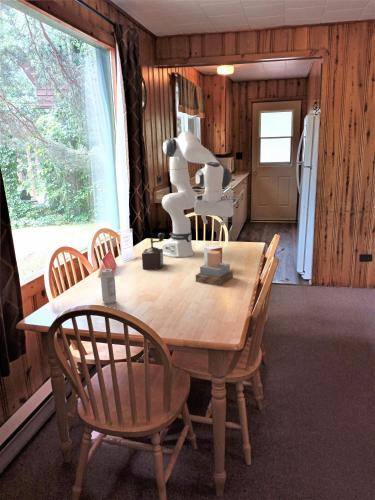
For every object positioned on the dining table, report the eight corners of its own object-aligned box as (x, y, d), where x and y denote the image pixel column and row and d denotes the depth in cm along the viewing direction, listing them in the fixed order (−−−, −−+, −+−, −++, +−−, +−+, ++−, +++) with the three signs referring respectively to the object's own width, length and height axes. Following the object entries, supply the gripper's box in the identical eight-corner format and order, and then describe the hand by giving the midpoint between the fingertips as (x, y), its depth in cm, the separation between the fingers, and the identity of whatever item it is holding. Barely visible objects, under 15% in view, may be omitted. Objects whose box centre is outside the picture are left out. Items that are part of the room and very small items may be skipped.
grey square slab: (200, 274, 206) (200, 266, 205) (211, 268, 214) (211, 261, 213) (219, 277, 200) (219, 270, 199) (229, 271, 208) (229, 264, 207)
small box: (210, 272, 219) (210, 249, 215) (203, 269, 224) (203, 247, 220) (222, 269, 223) (222, 247, 219) (215, 267, 228) (215, 244, 224)
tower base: (195, 282, 206) (195, 275, 205) (209, 274, 217) (208, 267, 216) (220, 287, 199) (220, 279, 198) (232, 278, 210) (232, 271, 209)
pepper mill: (161, 269, 226) (160, 238, 221) (142, 269, 227) (140, 238, 222) (166, 261, 241) (165, 232, 236) (148, 261, 242) (146, 231, 237)
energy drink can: (110, 298, 187) (107, 267, 183) (119, 301, 183) (116, 269, 179) (100, 302, 182) (97, 270, 178) (108, 305, 178) (106, 273, 174)
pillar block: (207, 266, 205) (207, 252, 203) (211, 263, 209) (211, 250, 208) (216, 267, 203) (216, 254, 201) (220, 264, 207) (220, 251, 205)
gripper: (235, 196, 194) (235, 225, 197) (198, 194, 204) (199, 221, 208) (230, 198, 188) (230, 227, 192) (192, 196, 199) (193, 223, 202)
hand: (213, 224), depth 200 cm, fingers open, 8 cm apart
